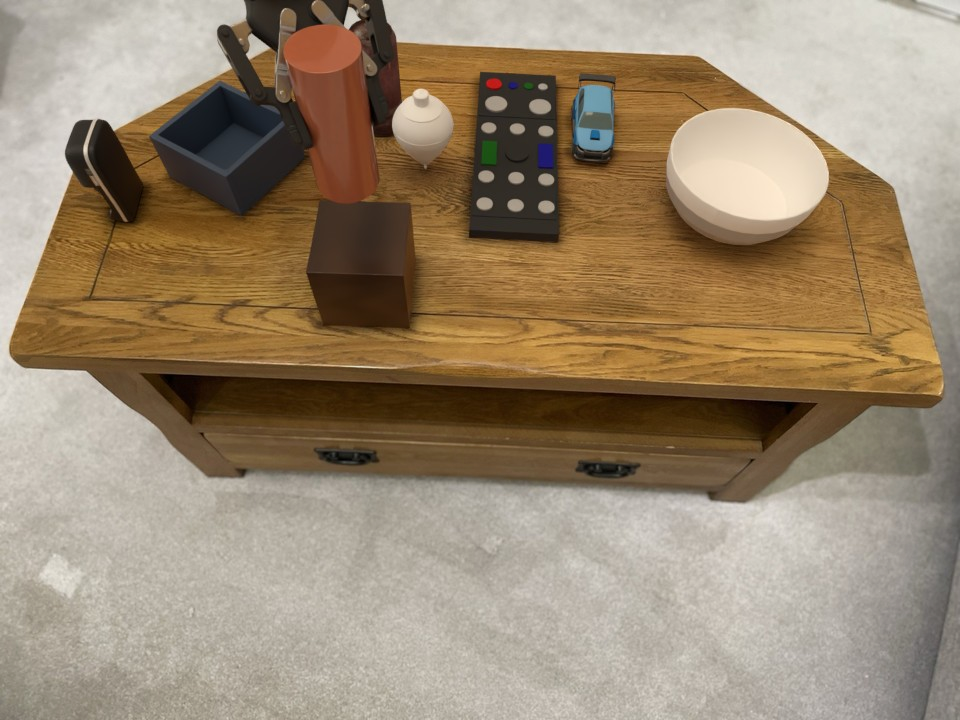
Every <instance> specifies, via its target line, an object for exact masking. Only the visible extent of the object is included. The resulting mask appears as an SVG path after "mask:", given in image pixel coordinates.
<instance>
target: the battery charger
mask: <svg viewBox="0 0 960 720" xmlns="http://www.w3.org/2000/svg"><path fill="white" fill-rule="evenodd" d="M64 157H65V161H66V163H67V165H68V167H69V168H70V170H71V171H72V173H73V175H74V176H75V178H76V180H77V181H78V182H79V183H80V185H81V186H82V187H83V188H87V189H93V190H95V191H96V192H98V193H99V194H100V195H101V196H102V198H103V199H104V201H105V202H106V203H107V205H108V206H109V209H108V213H107V215H108V218H110V219H111V220H113V221H115V222H124V223H129V222H133V221H134V219H135V217H136V214H137V209H138V206H139V203H140V199H141V195H142V192H143V187H144V182H143V181H142V178H140V176H139V174H138V172H137V170H136V169H135V166H134V165H133V164H132V161H131V160H130V157H129V156H128V154H127V152H126V150H125V148H124V146H123V143H122V142H121V141H120V139H119V137H118V135H117V134H116V132H115V130H114V129H113V128H112V126H111V124H110V122H108V121H107V120H105V119H102V118H93V119H80V120H77V121H76V122H75V123H74V125H73V127H72V129H71V132H70V134H69V137H68V141H67V142H66V146H65V150H64Z"/></svg>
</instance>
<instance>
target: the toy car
mask: <svg viewBox="0 0 960 720" xmlns="http://www.w3.org/2000/svg"><path fill="white" fill-rule="evenodd" d="M616 80H617V77H616V76H615V75H609V74H597V73H596V74H595V73H579V75H578V83H579V84H578V86H577V89H578V91H577V93H576V94H575V97H574V98H573V101H572V106H571V111H570V113H571V114H570V119H571V127H572V128H571V129H572V130H571V131H572V133H571V134H572V139H571V140H572V141H571V145H570V146H571V148H570V153H571V156H573V158H574V159H575V160H577V161H580V162H585V163H594V164H595V163H597V164H602V163H607V162H609V161H610V160H611V158H612V156H613V153H614V145H615V133H614V116H615V111H616V110H615V109H616V104H615V103H616V102H615V99H614V92H616V82H617V81H616ZM582 82H597V83H598V82H599V83H606V84H612V87H609V86H606V85H601V84H600V85H599V84H587V85H582Z"/></svg>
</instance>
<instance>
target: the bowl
mask: <svg viewBox="0 0 960 720" xmlns="http://www.w3.org/2000/svg"><path fill="white" fill-rule="evenodd" d="M665 169H666V170H665V183H666V190H667V193H668V197H669V199H670V201H671V203H672V204H673V207H674V208H675V210H676V211H677V214H678V215H679V217H680V218H681V219H682V220H683V221H684V222H685V224H686V225H687V226H689V227H690V228H691V229H692V230H694V231H695V232H697V233H699V234H700V235H702V236H704V237H706V238H708V239H711V240H713V241H715V242H719V243H723V244H727V245H734V246H748V245H749V246H750V245H756V244H760V243H765V242H768V241H772V240H776V239H779V238H781V237H783V236H785V235H788V233H790V232H791V231H792V230H793V229H795V228H796V227H797V226H798V225H801V223H802V222H804V221H805V220H807V218H809V216H810V215H811V214H812V213H813V211H814V210H815V209H816V208H817V206H818V205H819V204H820V203H821V201H822V200H823V199H824V197H825V196H826V193H827V190H828V187H829V178H830V173H829V167H828V164H827V161H826V159H825V157H824V155H823V152H822V151H821V149H820V148H819V147H818V146H817V144H816V143H815V142H814V141H813V140H812V139H811V138H810V136H808V135H807V134H806V133H805V132H804V131H802V130H801V129H799V128H798V127H796V126H795V125H793V124H792V123H790V122H788V121H786V120H783V119H782V118H780V117H778V116H775V115H772V114H770V113H766V112H763V111H759V110H755V109H750V108H739V107H725V108H724V107H723V108H717V109H712V110H711V109H710V110H707V111H704V112H701V113H699V114H696V115H694V116H692V117H691V118H689V119H688V120H686V121H684V122H683V123H682V125H680V127H679V128H678V129H677V130H676V131H675V133H674V135H673V137H672V139H671V142H670V146H669V149H668V154H667V159H666V164H665Z"/></svg>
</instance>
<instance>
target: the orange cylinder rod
mask: <svg viewBox="0 0 960 720" xmlns="http://www.w3.org/2000/svg"><path fill="white" fill-rule="evenodd" d="M283 53H284V58H285V61H286V65H287V69H288V73H289V77H290V81H291V85H292V93H293V97H294V101H296V103H297V105H298V107H299V110H300V112H301V115H302V117H303V120H304V122H305V125H306V128H307V130H308V133H309V135H310V138H311V140H312V143H313V147H312V148H310V149H307V152H308V156H309V157H308V158H309V160H310V165H311V169H312V173H313V177H314V181H315V185H316V188H317V190H318V192H319V193H320V194H321V195H322V197H324V198H325V199H326V200H330V201H333V202H336V203H343V204H349V203H356V202H359V201H365V200H366V199H368V198H369V197H371V196H372V195H373V194H374V193H375V192H376V190H377V189H378V188H379V185H380V181H381V180H380V179H381V177H380V171H379V164H378V163H379V162H378V156H377V149H376V141H375V135H374V133H373V126H372V119H371V111H370V104H369V97H368V89H367V82H366V75H365V67H364V60H363V53H362V45H361V42H360V40H359V38H358V37H357V36H356V35H355V34H354V33H353V32H352V31H350V30H349V28H346V27H345V28H343V27H340V26H336V25H314V26H310V27H306V28H304V29H301V30H299V31H297V32H296V33H294V34H293V35H292V36H290V37H289V39H288V40H287V41H286V43H285V45H284V49H283Z"/></svg>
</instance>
